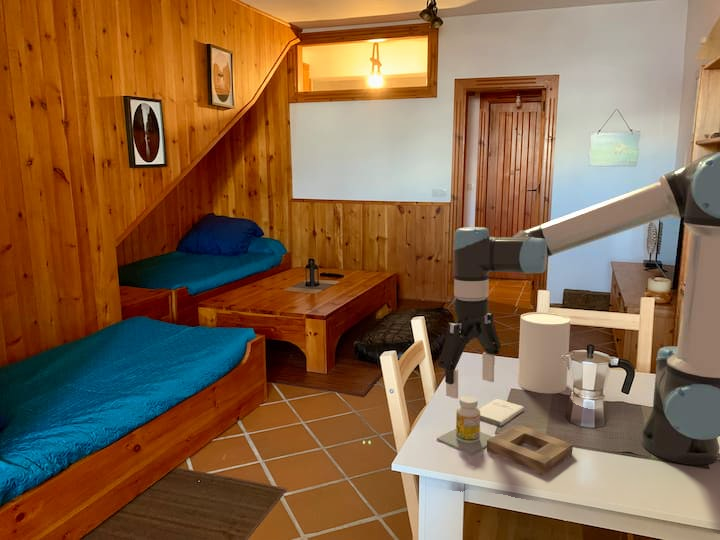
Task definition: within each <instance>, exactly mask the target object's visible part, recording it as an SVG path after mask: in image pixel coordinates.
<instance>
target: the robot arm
mask: <svg viewBox="0 0 720 540" xmlns="http://www.w3.org/2000/svg"><path fill="white" fill-rule="evenodd" d="M668 217H673V218H676V219H681V218H683V217H684V219H683V225H684V226H685V227H686V228H687V229H688V230H689V231H690V233H691V237H690V243H689V244H690V245H689V250H688V251H689V253H688V259H687V268H686V276H685V285H684V290H683V291H684V293H683V299H682V309H681V316H680V324H679V325H680V326H679V331H678V339H677V340H678V341H677V346H674V345H673V346H672V345H671V346H663V347H660V348H659V349H658V351H657V356H656V358H655V361H656V368H655V369H656V370H655V379H654V390H653V400H652V401H653V403H652V411H651V413H650V415H649V416H648V419H647V421H646V423H645V425H644V427H643V429H642V431H641V440H640V441H641V445H642V446H643V447H644V448H645V449H646V450H647V451H648V452H650V453H651V454H653V455H655V456H657V457H660V458H661V459H665V460H667V461H672V462H674V463H679V464H685V465H691V466H692V465H693V466H694V465H697V466H699V465H700V466H702V465H709V464H713V463H715V462H716V461H718V459H719V458H720V457H719V456H720V443H719V441H718V438H719V437H720V151H718V152H713V153H708V154H706V155H703V156H700V157H698V158H697V159H695V160H694V161H691V162H690V163H688V164H686V165H683V166H681V167H680V168H678V169H675V170H673V171H671V172H670V171H669V172H667V173H665V174H663V175H661V176H660V178H659V179H658V181H656V182H655V183H652V184H649V185H646V186H644V187H640V188H638V189H635V190H632V191H629V192H627V193H624V194H622V195H618V196H616V197H613V198H611V199H608V200H604V201H603V202H599V203H596V204H593V205H591V206H588V207H586V208H582V209H580V210H577V211H574V212H572V213H570V214H567V215H564V216H561V217H558V218H555V219H552V220H549V221H547V222H545V223H541V224H539V225H536V226H534V227H533V226H532V227H530V228H528V229H523V230H520V231H517V232H515V233H514V234H513V235H512V236H511V237H510V236H509V237H502V236H501V237H500V236H499V237H495V236H490V235H491V234H490V231H489V229H488V227H487V228H486V227H482V226H481V227H480V226H479V227H478V226H475V227H474V226H467V227H460V228H457V229H456V231H455V232H454V239H453V240H454V242H453V249H452V250H453V268H454V269H453V281H454V282H453V283H454V284H453V295H454V296H455V297H454V299H453V313H454V315H455V316H456V317H457V320H456V323H452V322H448V324H447V330H446V336H445V339H444V340H445V341H444V343H443V346H442V350H441V353H440V357H439V360H438V364H437V367H439V368H441V369H444V375H445V377H444V378H445V379H444V382H445V393H446V394H445V396H447V397H449V398H452V399H456V400H457V399H458V398H459V368H458V369H457V367H458V364H459V362H460V359H461V358H462V357H461V356H462V355H463V352H464V350H465V348H466V345H468V344H469V343H470V341H471V340H474V339H475V338H476V339H477V340H478V342H479V344H480V346H481V347H482V348H483V350H484V352H483V353H482V371H481V372H482V374H481V375H482V380H483V381H487V382H490V383H494V382H495V356H496V355H499V353H500V349H501V348H502V346H501V343H500V338H499V336H498V332H497V329H496V327H495V322H494V315H493V314H492V313H489V299H488V298H487V297H489V293H490V290H489V288H490V287H489V285H490V283H489V273H490V272H491V273H492V272H493V273H495V272H497V273H498V272H499V273H513V274H515V273H517V274H526V275H530V274H542V273H544V272H545V271H546V269H547V263H548V262H547V261H548V257H551V256H553V255H558V254H559V253H563V252H566V251H568V250H572V249H576V248H578V247H581V246H583V245H586V244H590V243H593V242H596V241H598V240H599V241H600V240H602V239H604V238H608V237H611V236H614V235H617V234H621V233H622V232H626V231H628V230H632V229H635V228H638V227H641V226H644V225H647V224H651V223H653V222H656V221H659V220H662V219H665V218H668Z"/></svg>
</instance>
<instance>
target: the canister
mask: <svg viewBox="0 0 720 540" xmlns="http://www.w3.org/2000/svg"><path fill="white" fill-rule="evenodd" d="M519 320H520V322H519V323H520V324H519V325H520V326H519V345H518V348H519V349H518V372H517V373H518V374H517V384H518V385H519V387H521V388H523V389H524V390H527V391H530V392H533V393H540V394H558V393H562V392H564V391H565V390H566V389H567V382H568V368H567V365H566V363H565V362H564V360H563V359H562V357H561V356H562V355H564V354H567V353H568V354H569V349H570V335H571V334H570V333H571V332H570V330H571V318H570V317H568V316H566V315H563V314H559V313H553V312H548V311H546V312H545V311H544V312H543V311H538V312H537V311H535V312H534V311H533V312H527V313H523V314H521V315H520V319H519Z"/></svg>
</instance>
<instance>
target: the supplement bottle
mask: <svg viewBox="0 0 720 540" xmlns="http://www.w3.org/2000/svg"><path fill="white" fill-rule="evenodd" d="M478 404H479V403H478V398H476V397H475V396H468V395H466V396H461V397H460V398H459V406H457V408H456V422H455V423H456V424H455V425H456V427H455V429H456V438H457V439H458V440H459V441H461V442H463V443H475V442H477V441H478V440H479V437H480V432H481V420H480V410H479V409H480V408H479V407H478Z"/></svg>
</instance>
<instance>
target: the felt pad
mask: <svg viewBox="0 0 720 540" xmlns="http://www.w3.org/2000/svg"><path fill="white" fill-rule="evenodd" d="M492 437H493V435H492V436H491V435H489V434H487V433H485V432H481V431H480V437H479V440H478V441H477V442H475V443H463V442H461V441H459V440H458V439H457V438H456V428H454V429H452V430H451V431H448V432H447V433H444V434H442V435H440V436H438V437H437V438H436V440H437V441H438V442H441V443H443V444H445V445H448V446H450V447H452V448H454V449H457V450H459V451H461V452H464V453H466V454H469V456H470V455H471V456H473V455H476V454H477V453H478V452H481V451H482V450H484V449H485V448H486V449H487V440H488V439H490V438H492Z"/></svg>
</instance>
